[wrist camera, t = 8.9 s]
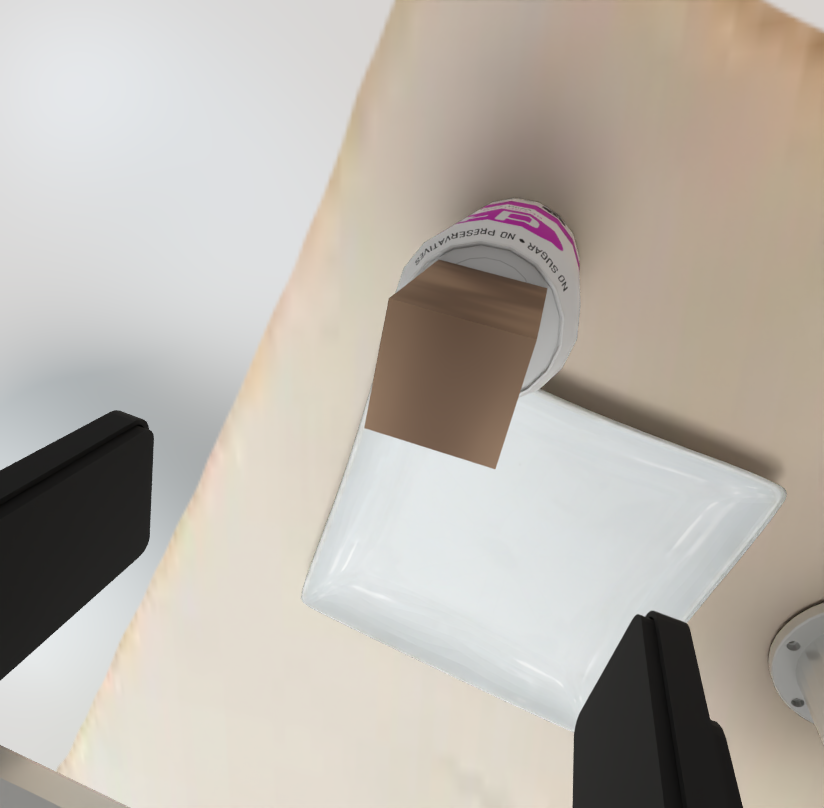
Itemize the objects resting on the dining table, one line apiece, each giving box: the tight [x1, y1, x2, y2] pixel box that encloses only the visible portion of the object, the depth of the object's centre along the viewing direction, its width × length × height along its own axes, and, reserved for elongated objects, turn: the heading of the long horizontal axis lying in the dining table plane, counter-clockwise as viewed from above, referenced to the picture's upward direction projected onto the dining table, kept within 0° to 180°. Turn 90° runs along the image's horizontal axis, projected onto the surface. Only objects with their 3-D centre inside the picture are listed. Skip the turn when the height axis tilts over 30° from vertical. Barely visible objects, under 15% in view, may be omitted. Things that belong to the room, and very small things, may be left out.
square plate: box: [301, 383, 787, 732], centre depth 44 cm, size 27×27×4 cm
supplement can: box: [396, 198, 580, 398], centre depth 31 cm, size 8×8×15 cm
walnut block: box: [364, 260, 548, 469], centre depth 21 cm, size 4×4×7 cm
